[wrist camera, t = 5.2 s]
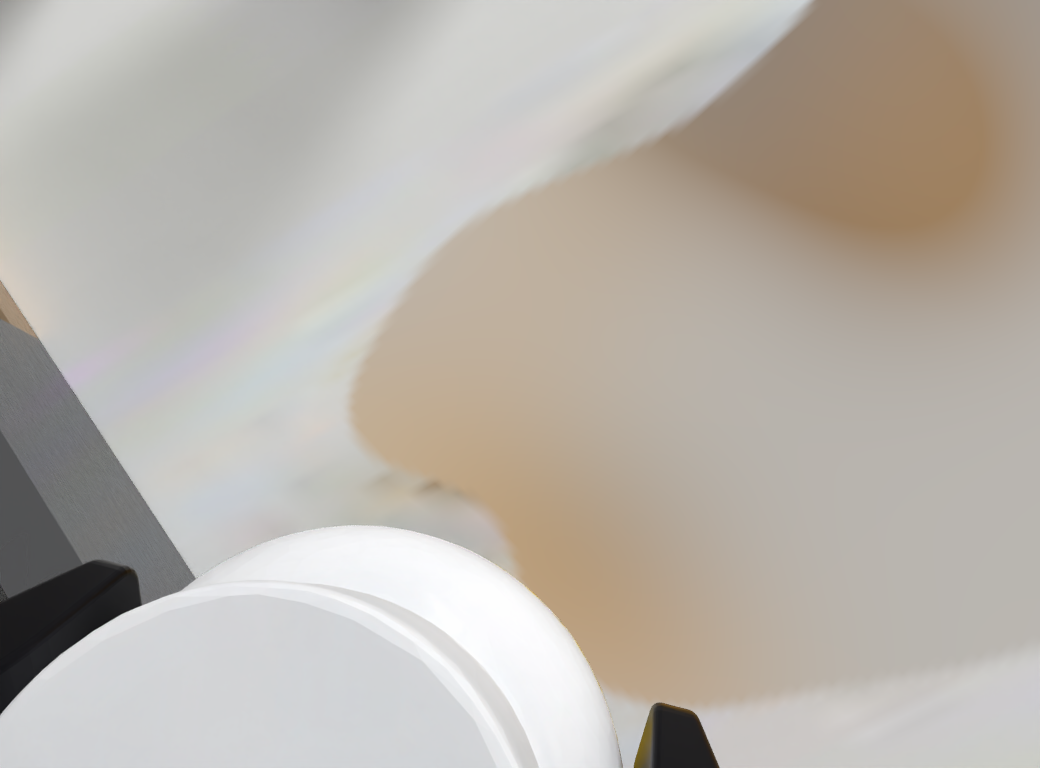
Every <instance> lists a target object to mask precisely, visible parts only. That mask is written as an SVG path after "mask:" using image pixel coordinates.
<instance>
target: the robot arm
mask: <svg viewBox="0 0 1040 768" xmlns="http://www.w3.org/2000/svg"><path fill="white" fill-rule="evenodd" d="M140 606H142V601H141V593H140V586H139V578H138V574H137V573H136V571H135V570H134V569H133V568H132V567H130V566H127V565H123V564H119V563H116V562H112V561H108V560H103V559H96V560H92V561H89V562H86V563H84V564H82V565H80V566H77V567H75V568H73V569H71V570H69V571H66V572H64V573H62V574H60V575H58V576H56V577H53V578H51V579H49V580H47V581H45V582H43V583H40V584H38V585H36V586H34V587H32V588H30V589H27V590H25V591H23V592H21V593H19V594H16V595H14V596H12V597H10V598H8V599H6V600H3V601H1V602H0V715H1V714H2V712H3V711H4V710H5V709H6V708H7V706H8V705H9V704H10V703H11V702H12V701H13V700H14V698H15V697H16V696H17V695H18V694H19V693H20V692H21V691H22V690H23V689H24V688H25V687H26V686H27V685H28V684H29V683H30V682H31V681H32V680H33V679H34V678H35V677H36V676H37V675H38V674H39V673H40V672H41V671H42V670H43V669H44V668H45V667H46V666H48V665H49V664H50V663H51V662H52V661H53V660H55V659H56V658H57V657H58V656H59V655H61V654H62V653H63V652H65V651H66V650H68V649H69V648H70V647H72V646H73V645H75V644H76V643H77V642H79V641H80V640H82V639H83V638H84V637H86V636H87V635H88V634H90V633H91V632H93V631H94V630H96V629H98V628H99V627H101V626H103V625H104V624H106V623H108V622H109V621H111V620H113V619H114V618H116V617H118V616H119V615H121V614H123V613H126V612H128V611H130V610H133V609H135V608H137V607H140ZM634 768H720V767H719V765H718V763H717V760H716V758H715V756H714V753H713V751H712V748H711V746H710V744H709V741H708V739H707V737H706V734H705V732H704V729H703V727H702V725H701V722H700V720H699V718H698V717H697V715H696V714H695V713H694V712H693V711H691V710H688V709H684V708H680V707H676V706H672V705H669V704H665V703H656V704H654V705H653V706H652V708H651V710H650V713H649V716H648V719H647V722H646V726H645V729H644V732H643V736H642V739H641V742H640V745H639V749H638V752H637V755H636V759H635V763H634Z"/></svg>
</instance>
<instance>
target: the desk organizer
mask: <svg viewBox="0 0 1040 768" xmlns="http://www.w3.org/2000/svg"><path fill="white" fill-rule="evenodd" d="M96 559H103V560H108V561H112V562H116V563H119V564H123V565H127V566H130V567H132V568H133V569H134V570H135V571H136V573H137V574H138V578H139V586H140V593H141V601H142V605H145V604H147V603H150V602H152V601H155V600H157V599H160V598H162V597H165V596H168V595H171V594H174V593H177V592H179V591H181V590H183V589H184V588H185V587H186V586H188V585H189V584H190V583H191V582H193V581H194V580H195V577H194V576H193V574H192V572H191V571H190V569H189V568H188V566H187V565H186V563H185V562H184V560H183V559H182V557H181V556H180V554H179V553H178V551H177V550H176V548H175V547H174V545H173V543H172V542H171V540H170V539H169V537H168V536H167V534H166V533H165V531H164V530H163V528H162V527H161V525H160V524H159V522H158V521H157V519H156V518H155V516H154V514H153V513H152V511H151V510H150V508H149V507H148V505H147V504H146V502H145V501H144V499H143V498H142V496H141V495H140V493H139V492H138V490H137V488H136V487H135V485H134V484H133V482H132V481H131V479H130V478H129V476H128V475H127V473H126V472H125V470H124V469H123V467H122V466H121V464H120V463H119V461H118V459H117V458H116V456H115V455H114V453H113V452H112V450H111V449H110V447H109V446H108V444H107V443H106V441H105V440H104V438H103V437H102V435H101V434H100V432H99V430H98V429H97V427H96V426H95V424H94V423H93V421H92V420H91V418H90V417H89V415H88V414H87V412H86V411H85V409H84V408H83V406H82V404H81V403H80V401H79V400H78V398H77V397H76V395H75V394H74V392H73V391H72V389H71V388H70V386H69V385H68V383H67V382H66V380H65V379H64V377H63V375H62V374H61V372H60V371H59V369H58V368H57V366H56V365H55V363H54V362H53V360H52V359H51V357H50V356H49V354H48V353H47V351H46V350H45V348H44V346H43V345H42V343H41V342H40V340H39V339H38V337H37V336H36V334H35V333H34V331H33V330H32V328H31V327H30V325H29V324H28V322H27V320H26V319H25V317H24V316H23V314H22V313H21V311H20V310H19V308H18V307H17V305H16V304H15V302H14V301H13V299H12V298H11V296H10V295H9V293H8V291H7V290H6V288H5V287H4V285H3V284H2V282H1V281H0V585H1V587H2V588H3V590H4V592H5V594H6V595H7V597H8V598H10V597H12V596H14V595H16V594H19V593H21V592H23V591H25V590H27V589H30V588H32V587H34V586H36V585H38V584H40V583H43V582H45V581H47V580H49V579H51V578H53V577H56V576H58V575H60V574H62V573H64V572H66V571H69V570H71V569H73V568H75V567H77V566H80V565H82V564H84V563H86V562H89V561H92V560H96Z"/></svg>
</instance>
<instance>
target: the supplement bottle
mask: <svg viewBox="0 0 1040 768" xmlns="http://www.w3.org/2000/svg"><path fill="white" fill-rule="evenodd" d="M0 768H623V765H622V760H621V754H620V749H619V744H618V739H617V735H616V732H615V728H614V725H613V721H612V717H611V714H610V711H609V709H608V706H607V703H606V700H605V698H604V695H603V692H602V690H601V687H600V685H599V683H598V681H597V679H596V677H595V675H594V673H593V671H592V669H591V667H590V664H589V663H588V661H587V659H586V657H585V655H584V654H583V652H582V650H581V648H580V647H579V645H578V644H577V642H576V641H575V640H574V638H573V637H572V635H571V634H570V633H569V631H568V630H567V628H566V627H565V626H564V625H563V624H562V622H561V621H560V620H559V619H558V618H557V617H556V616H555V615H554V614H553V613H552V611H551V610H550V609H549V608H548V607H547V606H546V605H545V604H544V603H543V602H542V601H541V600H540V599H539V598H538V597H537V596H536V595H535V594H534V593H533V592H532V591H531V590H530V589H528V588H527V587H526V586H524V585H523V584H522V583H521V582H519V581H518V580H517V579H515V578H514V577H513V576H512V575H510V574H509V573H508V572H506V571H505V570H503V569H502V568H500V567H499V566H497V565H496V564H494V563H492V562H491V561H489V560H487V559H485V558H483V557H482V556H480V555H478V554H476V553H475V552H473V551H470V550H468V549H466V548H464V547H461V546H459V545H456V544H453V543H450V542H448V541H445V540H442V539H439V538H436V537H433V536H429V535H426V534H422V533H418V532H414V531H410V530H403V529H397V528H391V527H385V526H363V525H350V526H336V527H324V528H319V529H313V530H307V531H302V532H298V533H294V534H289V535H285V536H282V537H279V538H276V539H273V540H270V541H267V542H264V543H261V544H259V545H256V546H254V547H252V548H250V549H248V550H246V551H244V552H242V553H239V554H237V555H235V556H233V557H231V558H229V559H227V560H225V561H224V562H222V563H220V564H218V565H216V566H215V567H213V568H212V569H210V570H209V571H207V572H206V573H204V574H203V575H201V576H200V577H198V578H197V579H195V580H194V581H193V582H191V583H190V584H189V585H188V586H186V587H185V588H184V589H183V590H181V591H179V592H177V593H174V594H171V595H168V596H165V597H162V598H160V599H157V600H155V601H152V602H150V603H147V604H145V605H142V606H140V607H137V608H135V609H133V610H130V611H128V612H126V613H123V614H121V615H119V616H118V617H116V618H114V619H113V620H111V621H109V622H108V623H106V624H104V625H103V626H101V627H99V628H98V629H96V630H94V631H93V632H91V633H90V634H88V635H87V636H86V637H84V638H83V639H82V640H80V641H79V642H77V643H76V644H75V645H73V646H72V647H70V648H69V649H68V650H66V651H65V652H63V653H62V654H61V655H59V656H58V657H57V658H56V659H55V660H53V661H52V662H51V663H50V664H49V665H48V666H46V667H45V668H44V669H43V670H42V671H41V672H40V673H39V674H38V675H37V676H36V677H35V678H34V679H33V680H32V681H31V682H30V683H29V684H28V685H27V686H26V687H25V688H24V689H23V690H22V691H21V692H20V693H19V694H18V695H17V696H16V697H15V698H14V700H13V701H12V702H11V703H10V704H9V705H8V706H7V708H6V709H5V710H4V711H3V712H2V714H1V715H0Z"/></svg>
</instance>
